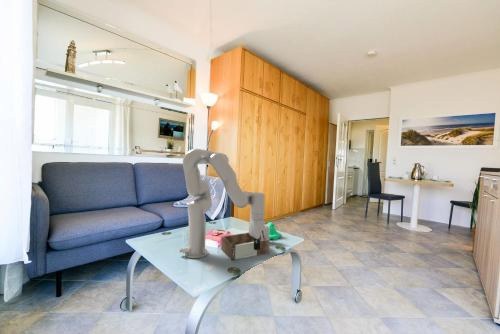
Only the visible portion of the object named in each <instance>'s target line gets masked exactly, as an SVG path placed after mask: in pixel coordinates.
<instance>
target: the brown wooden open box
mask: <svg viewBox="0 0 500 334" xmlns="http://www.w3.org/2000/svg"><path fill="white" fill-rule="evenodd" d="M220 239H221V241H220V243H221V245H220V250H221V251H222V252H223V254H225V256H226V257H228V259H229V260H230V261H234V259H233V258H234V245H238V244H244V243H250V242H254V241H253V237H252V236H251V235H250V234H249V232H244V233H236V234H229V235H224V236H221V238H220ZM269 251H270V239H267V238H265V237H264V238H263V241H261V242H260V249H259V250H257V255H256V256H260V255H261V256H262V255H266V254H269V253H270V252H269Z"/></svg>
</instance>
